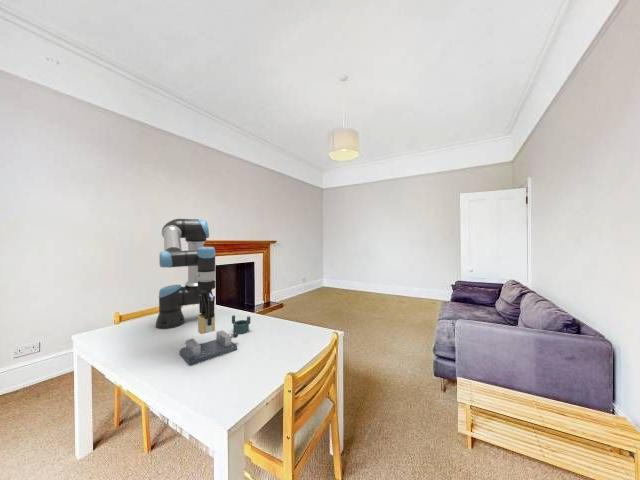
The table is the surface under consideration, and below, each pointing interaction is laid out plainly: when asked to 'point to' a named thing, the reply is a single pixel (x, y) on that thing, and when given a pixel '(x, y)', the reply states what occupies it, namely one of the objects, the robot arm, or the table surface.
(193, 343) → the vise
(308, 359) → the table surface
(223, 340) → the free jaw
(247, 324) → the bracket
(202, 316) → the brass block
